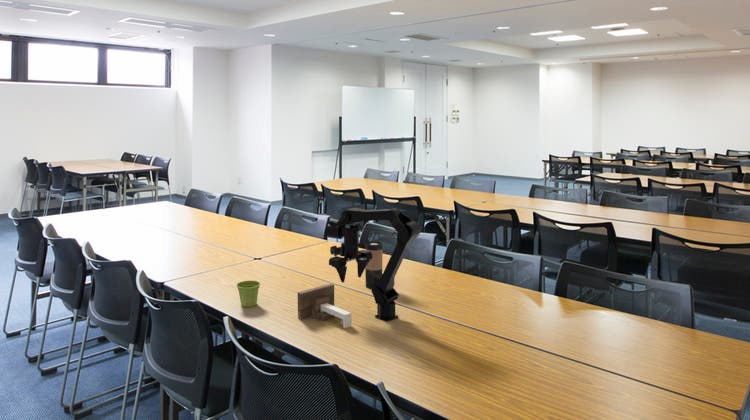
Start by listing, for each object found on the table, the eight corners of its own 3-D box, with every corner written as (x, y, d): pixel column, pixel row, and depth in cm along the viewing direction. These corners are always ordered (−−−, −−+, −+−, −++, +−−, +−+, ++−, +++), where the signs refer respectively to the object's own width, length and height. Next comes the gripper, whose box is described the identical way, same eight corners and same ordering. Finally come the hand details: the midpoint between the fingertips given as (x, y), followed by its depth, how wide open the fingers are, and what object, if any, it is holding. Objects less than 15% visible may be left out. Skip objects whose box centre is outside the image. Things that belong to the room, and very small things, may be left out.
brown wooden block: (345, 313, 200) (345, 288, 198) (311, 324, 189) (311, 298, 187) (331, 307, 206) (330, 283, 204) (297, 317, 195) (297, 292, 193)
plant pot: (264, 306, 207) (264, 285, 206) (241, 310, 202) (241, 289, 200) (255, 299, 215) (255, 279, 213) (233, 303, 209) (232, 282, 208)
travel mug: (385, 285, 234) (385, 242, 230) (376, 290, 227) (376, 245, 224) (371, 283, 238) (371, 240, 234) (361, 287, 231) (362, 243, 228)
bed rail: (351, 326, 187) (351, 312, 186) (344, 328, 185) (344, 314, 184) (326, 315, 197) (326, 303, 196) (320, 317, 195) (320, 304, 194)
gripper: (353, 233, 212) (353, 270, 214) (318, 241, 198) (319, 280, 201) (373, 238, 204) (373, 276, 207) (339, 246, 191) (339, 286, 193)
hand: (351, 279), depth 202 cm, fingers open, 9 cm apart
